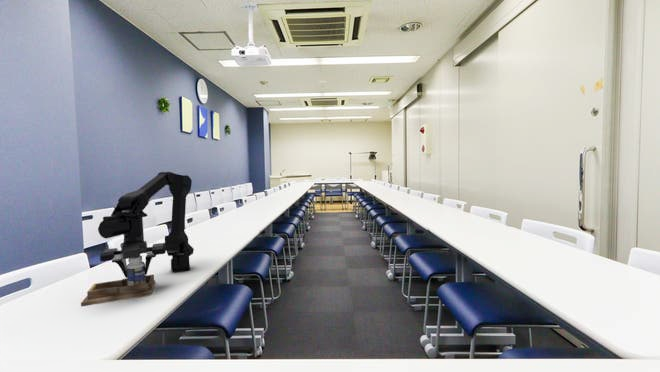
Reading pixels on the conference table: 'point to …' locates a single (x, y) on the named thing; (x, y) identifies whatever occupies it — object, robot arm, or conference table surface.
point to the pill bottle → (136, 271)
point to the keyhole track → (117, 291)
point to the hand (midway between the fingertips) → (136, 276)
